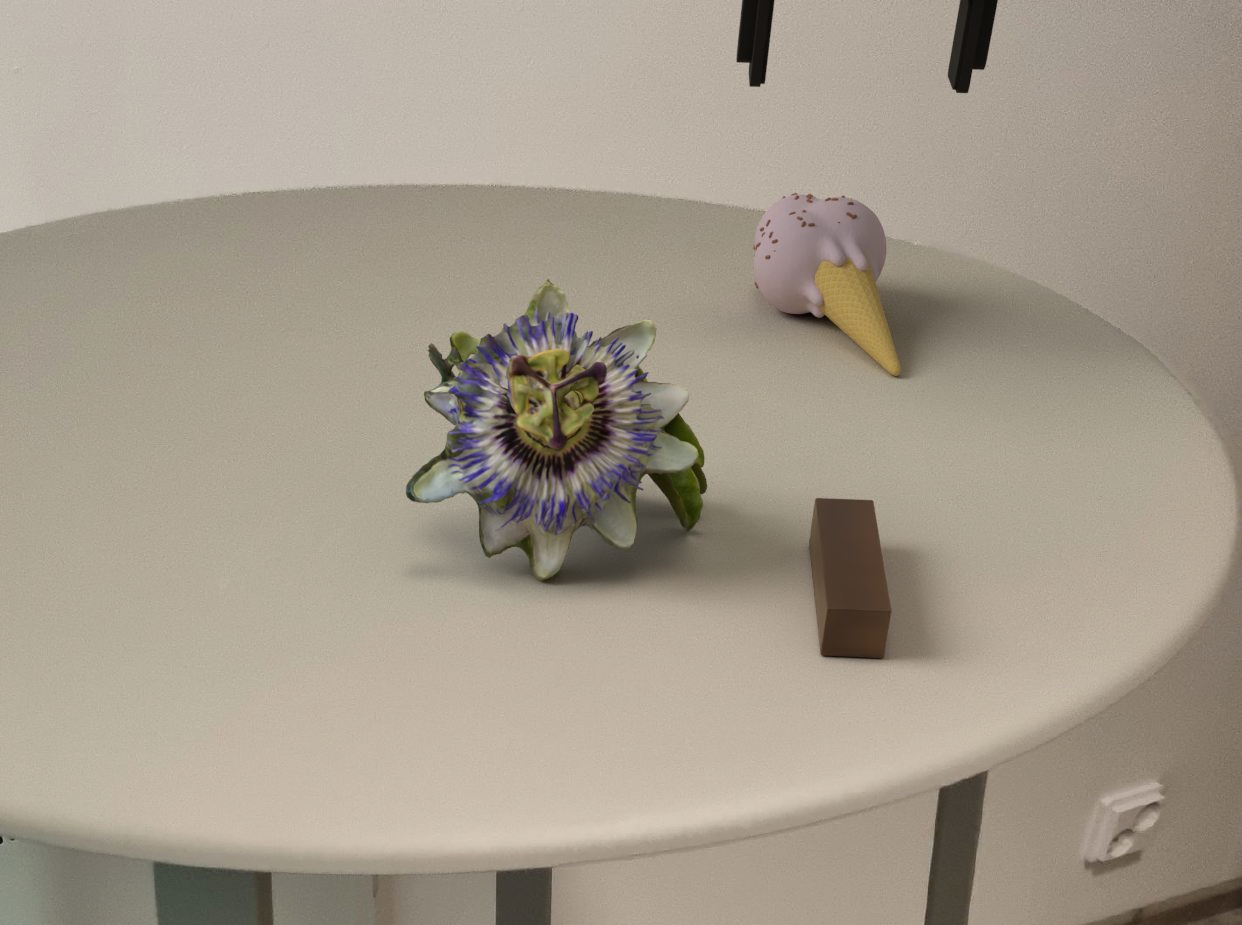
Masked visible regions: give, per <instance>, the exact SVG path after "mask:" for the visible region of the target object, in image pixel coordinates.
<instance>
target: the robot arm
mask: <svg viewBox="0 0 1242 925" xmlns="http://www.w3.org/2000/svg"><path fill="white" fill-rule="evenodd" d="M998 2H999V0H959V5H958V12H957V17H956V22H955V27H954V28H955V29H954V34H953V39H952V45H951V51H950V56H949V57H950V58H949V62H948V69H947V78H948V81H949V84H950V87H951V89H952V90H953V91H955V92H956V94H968V93H969V90H970V87H971V81H972V75H973V71H974V70H976V71H977V70H978V71H984V70H985V68H986V65H987V61H988V57H989V56H988V55H989V51H990V45H991V40H992V35H993V30H994V24H995V20H996V19H995V18H996V12H997V9H998ZM774 8H775V0H741V9H740V17H739V27H738V38H737V47H736V63H739V64H740V63H742V64H748V82H749V83H748V84H749V87H751V88H761V85H765V84H766V79H767V69H768V61H769V60H768V59H769V51H770V43H771V36H772V27H773V25H772V24H773V17H774Z"/></svg>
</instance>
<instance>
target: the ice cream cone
mask: <svg viewBox="0 0 1242 925" xmlns="http://www.w3.org/2000/svg"><path fill="white" fill-rule="evenodd" d="M752 249H753V250H754V252H755V253H754V258H753V277H754V287H755V288H756V289H758V291H759V293H760V295H761V296H762V297H763V299H764V300H765V301H766V302H767V303H768V304H769V305H770V306H772V307H773V308H774V309H776V310H778V311H780V312H782V313H786V314H790V315H803V314H808V313H811V314H812V315H813V316H814V317H816V318H823V317H824V316H826V318H828V319H829V320H830V321H831V322H832V323H833V324H834V325H836V327H838V328H839V329H840V330H841V331H842V332H843V333H845V334H846V335H847V336H848V337H849V338H850V339H851V340H852V341H853V342H854V343H855V344H857V345H858V346H859V347H860V348H861V349H862V350H863V351H865V352H866V353H867V354H868V355H869V356H870V357H871V358H872V359H873V360H874V361H876V363H878V364H879V365H880V366H881V367H882V368H883V369H884V370H885V371H886V372H888V373H889V374H890V376H891V375H892V376H894V377H898V376H900V375H901V371H902V370H901V369H902V367H901V363H900V360H899V357H898V354H897V350H896V347H895V344H894V340H893V337H892V333H891V331H890V326H889V323H888V320H887V317H886V312H885V311H884V307H883V303H882V300H881V296H880V293H879V290H878V286H877V284H876V283H877V282H878V280H879V278H880V277H881V274H882V271H883V269H884V266H885V263H886V258H887V237H886V233H885V231H884V227H883V225H882V222H881V221H880V218H879V217H878V216H877V214H876V213H875V212H874V211H873V210H872V209H871V208H870V207H868V206H867V205H865V204H864V203H862V202H860V201H859V200H857V199H853V198H852V197H846V196H845V195H843V194H842V195H841V196H835V197H827V198H824V199H820V198H817V197H815V196H814V195H813V194H811V193H808V194H801V193H800V194H798V193H797V192H795V193H791V194H790V195H788V196H785V195H783V196H782V198H781V199H779V200H777V201H776V202H775V203H773V204H772V205H771V206H769V208H768V209H767V210H766V211H765V212H764V214H763V215H762V217H761V218H760V220H759V223H758V225H757V228H756V230H755V236H754V245H753V246H752Z"/></svg>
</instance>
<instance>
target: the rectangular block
mask: <svg viewBox="0 0 1242 925" xmlns="http://www.w3.org/2000/svg"><path fill="white" fill-rule="evenodd" d="M808 543H809V553H810V563H811V571H812V581H813V584H812V585H813V592H814V604H815V614H816V623H817V624H816V625H817V633H818V634H817V635H818V643H819V654H820V656H827V657H828V656H829V657H847V658H849V657H850V658H869V659H870V658H872V659H883V658H884V657H885V653H886V645H887V641H888V635H889V630H890V629H889V628H890V622H891V617H892V606H891V600H890V594H889V588H888V582H887V574H886V569H885V562H884V555H883V551H882V546H881V538H880V532H879V526H878V520H877V514H876V507H875V502H874V500H873V499H855V498H854V499H852V498H828V497H827V498H826V497H825V498H824V497H816V498H815V499H814V505H813V512H812V519H811V526H810V533H809V541H808Z"/></svg>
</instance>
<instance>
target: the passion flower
mask: <svg viewBox="0 0 1242 925" xmlns="http://www.w3.org/2000/svg"><path fill="white" fill-rule="evenodd" d="M578 320H579V315H578V314H577V313H573V312H571V310H570V308H569V303H568V302H567V296H566V293H565V292H564V290H562V289H561V287H559V286H558V285H556V284H554V283H553V282H551V281H550V279H549V278H547V279H546V281H545V282H544V283H543V284H541V286H539V287H538V289H536V291H535V293H534V294H533V296H532V298H531V299H530V301H529V303H528V306H527V308H526V310H525V312H524V313H523V314H522V315H520V316H518V317H517V318H515V320H514V322H513V323H511V324H510V325H507V323H506V322H504V323H503V325H502V326H503V327H502V329H501V331H500V332H499V333H498V334H496V335H492V334H491V333H487V334H486V335H484V336H483V337H481V338H480V337H477V336H474V335H471V334H470V333H468V332H465V331H463V330H461V331H456V332H453V333H452V334H451V336H449V344H450V351H449V354H448V355H447V356H446V358H443V354H442V353H441V352H440V351H439V350H438V348H437V347H436V346H435V344H434V343H432V342H431V343H429V344H428V349H427V352H428V355H427V356H428V358H429V360H430V362H431V363H432V365H433V366H434V367H435V368H436V370H437V372H438V373H439V374H440V377H441V381H440V383H439V384H438V385H437V386H435V387H434V388H433V389H429V390H425V391H424V392H423V397H424V401H425V403H426V404H427V405H428V407H429V408H431V409H432V410H434V411H435V412H436V413H438V414H440V415H441V416H442V417H443V418H445V420H447V421H448V422H449V423H451V424H452V425H453V426H454V427H453V429H451V430H448V432H447V433H446V442H445V446H444V449H443V450H442V451H441V452H440V453H439V454H438V455H436V456H434V457H432V458H431V459H430V460H429V461H427V462H426V463H425V464H423V465H422V466H421V467H420V468H419V469H418V470H417V471H416V472H414V474H413V475H412V476H411V478H410V479H409V480H408V482H407V484H406V486H405V495H406V498H407V499H409V500H410V501H411V502H414V503H415V502H416V503H419V504H420V503H421V504H431V503H435V504H436V503H442V502H443V501H444V500H447V499H451V498H454V497H455V496H456V495H459V494H463V495H464V494H468V495H469V496H470V497H472V499H473V500H474V501H475V503H476V505H477V509H478V535H479V536H478V537H479V542H480V547H481V549H482V552H483V554H484V556H485V557H486V558H488V559H490V558H492V557H493V556H495V555H501V554H502V553H503V552H505V551H506V550H508V549H510V548H511V549H512V548H519V549H520V550H521V551H523V552H524V554H525V555H526V556H527V558H528V561H529V567H530V570H531V572H532V573H533V575H534V577H535V579H537V580H538V581H541V582H542V581H546V580H549V579H550V578H552V577H554V576H555V575H556V574H557V573H559V571H560V570H561V568H562V566H563V564H564V561H565V559H566V556H567V553H568V551H569V549H570V545H571V541H572V538H573V535H574V533H576V531H577V530H578V529H580V528H582V527H585V526H588V528H590V529H591V530H593V531H595V532H596V533H597V534H598V535H599V537H600V538H601V540H602V541H603V542H605V543H606V544H608V545H609V546H613V547H615V548H617V549H619V550H622V551H628V550H629V549H630V548H631V547H632V546H633V545H634V543H635V541H636V535H637V533H638V532H637V531H638V526H639V521H638V520H639V519H638V514H637V513H638V512H637V502H636V501H637V500H636V499H637V491H638V490H639V491H641V492H642V491H643V492H644V488H643V487H641V486H639V485H642V484H643V482H642V478H644V477H645V476H646V475H647V476H648V477H649V478H650V479H651V480H652V481H653V483H654V484H655V485H656V487H658V489H659V490H660V491H661V493H663V495H664V496H665V497H666V499H667V500H668V502H669V504H670V506H671V508H672V510H673V511H674V512H673V513H675V515H676V517H677V519H678V521H679V524H680V525H681V527H682V528H683V529H685V530H686V531H687V532H690V531H691V530H692V529H693V528H694V527H695V526H696V524H697V522H698V521H699V519H700V518H701V513H702V511H703V506H704V500H703V498H702V495H704V494H705V493H706V492H707V490H708V484H707V482H708V481H707V476H706V475H705V474H706V473H705V472H704V471H703V469H702V468H704V466H705V460H706V459H705V452H704V449H703V447H702V446H701V444H700V442H699V440H698V437H697V436H696V434H695V433H694V431H693V429H692V428H691V426H690V425H689V424H688V423H686V421H685V420H684V418H683V417H682V416H681V414H680V412H681V411H683V409H684V408H685V406H686V405H687V403H689V399H690V392H688V390H687V389H686V388H684V387H683V386H681V385H677V384H673V383H670V382H657V381H649V380H648V378H647V377H648V375H649V371H646V372H644V370H643V369H642V367H641V366H640V364H641V363H642V362H643V361H644V360H645V359H646V357H648V355H647V354H648V352H649V351H651V349H653V345H654V344H655V341H656V336H657V327H656V325H655V323H654V322H653V320H650V319H643V320H640V321H637V322H634V323H632V324H628V325H625V326H622V327H619V328H616V329H614V330H612V331H611V332H609V334H607V335H606V336H604V337H602V336H600V337H599V338H598V339H596V340H594V341H593V342H592V343H590V342H591V339H592V337H593V334H594V331H593V330H590V331H588V330H586V332H585V333H584V334H583V335H582V336H581V337H579V336H578V335H577V331H576V327H577V326H576V325H577V322H578ZM471 355H473V356H472V357H471V358H469V357H470V356H471ZM454 367H456V368H457V370H458V375H457V376H456V375H455V372H453V368H454Z"/></svg>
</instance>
